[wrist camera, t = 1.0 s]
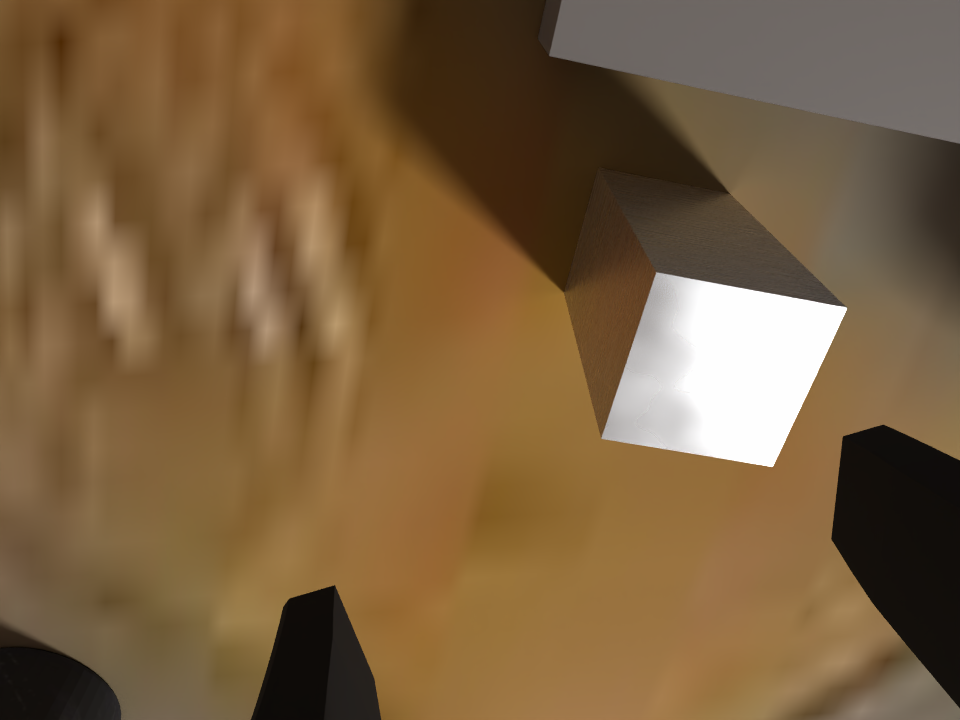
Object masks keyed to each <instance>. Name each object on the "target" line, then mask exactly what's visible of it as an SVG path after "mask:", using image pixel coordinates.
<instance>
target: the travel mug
mask: <svg viewBox="0 0 960 720" xmlns="http://www.w3.org/2000/svg"><path fill="white" fill-rule="evenodd" d="M0 720H121V710H120V705H119V702H118V699H117V698H116V696H115V694H114V692H113V691H112V690H111V688H110V687H109V686H108V685H107V684H106V683H105V682H104V681H103V680H102V679H101V678H100V677H99V676H98V675H96V674H95V673H94V672H92V671H91V670H89V669H88V668H86V667H85V666H83V665H81V664H79V663H77V662H75V661H73V660H71V659H68V658H66V657H64V656H61V655H58V654H55V653H51V652H47V651H43V650H37V649H31V648H1V649H0Z"/></svg>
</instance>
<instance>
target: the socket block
mask: <svg viewBox="0 0 960 720" xmlns="http://www.w3.org/2000/svg"><path fill="white" fill-rule="evenodd" d="M538 40H539V41H540V43H541V44H542V46H543V47H544V49H545V50H546V52H547V53H548V55H549V56H552V57H556V58H561V59H566V60H570V61H575V62H580V63H584V64H589V65H594V66H598V67H603V68H608V69H613V70H617V71H622V72H627V73H631V74H636V75H641V76H645V77H650V78H655V79H659V80H664V81H669V82H673V83H678V84H683V85H687V86H692V87H697V88H702V89H706V90H711V91H716V92H720V93H725V94H730V95H734V96H739V97H744V98H748V99H753V100H758V101H762V102H767V103H772V104H776V105H781V106H786V107H791V108H795V109H800V110H805V111H809V112H814V113H819V114H823V115H828V116H833V117H837V118H842V119H847V120H851V121H856V122H861V123H865V124H870V125H875V126H880V127H884V128H889V129H894V130H898V131H903V132H908V133H912V134H917V135H922V136H926V137H931V138H936V139H940V140H945V141H950V142H954V143H959V144H960V0H546V3H545V8H544V13H543V17H542V22H541V26H540V31H539V35H538Z"/></svg>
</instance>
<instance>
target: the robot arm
mask: <svg viewBox="0 0 960 720" xmlns="http://www.w3.org/2000/svg"><path fill="white" fill-rule="evenodd" d="M831 539H832V541H833V542H834V544H835V546H836V547H837V549H838V550H839V552H840V554H841V555H842V557H843V559H844V560H845V562H846V563H847V565H848V567H849V568H850V570H851V571H852V573H853V575H854V576H855V577H856V579H857V580H858V582H859V583H860V585H861V586H862V588H863V589H864V591H865V592H866V594H867V595H868V597H869V598H870V600H871V601H872V603H873V604H874V605H875V607H876V608H877V609H878V610H879V612H880V613H881V614H882V615H883V617H884V618H885V619H886V620H887V622H888V623H889V624H890V625H891V626H892V628H893V629H894V630H895V631H896V632H897V634H898V635H899V636H900V637H901V638H902V640H903V641H904V642H905V643H906V645H907V646H908V647H909V648H910V649H911V651H912V652H913V653H914V654H915V655H916V657H917V658H918V659H919V660H920V661H921V663H922V664H923V665H924V666H925V667H926V668H927V670H928V671H929V672H930V673H931V674H932V676H933V677H934V678H935V679H936V680H937V682H938V683H939V684H940V685H941V686H942V688H943V689H944V690H945V691H946V692H947V694H948V695H949V696H950V697H951V698H952V699H953V701H954V702H955V703H956V704H957V705H958V707H959V708H960V460H958V459H955V458H953V457H951V456H949V455H947V454H945V453H943V452H941V451H939V450H937V449H935V448H933V447H931V446H929V445H927V444H924V443H922V442H920V441H918V440H916V439H914V438H912V437H910V436H908V435H905V434H903V433H901V432H899V431H897V430H894V429H892V428H890V427H888V426H885V425H880V426H877V427H874V428H870V429H867V430H863V431H860V432H857V433H853V434H850V435H846V436H843V440H842V449H841V458H840V467H839V476H838V485H837V494H836V502H835V511H834V520H833V529H832V538H831ZM251 720H381V716H380V710H379V704H378V698H377V692H376V686H375V680H374V677H373V674H372V672H371V670H370V667H369V665H368V663H367V660H366V658H365V656H364V653H363V651H362V648H361V646H360V644H359V641H358V639H357V637H356V634H355V632H354V630H353V627H352V625H351V622H350V620H349V618H348V615H347V613H346V611H345V608H344V606H343V603H342V601H341V599H340V596H339V594H338V592H337V589H336V587H335V585H334V586H331V587H327V588H324V589H320V590H317V591H314V592H310V593H307V594H303V595H300V596H297V597H293V598H290V599H289V600H288V601H287V603H286V604H285V605H284V607H283V610H282V615H281V619H280V623H279V627H278V631H277V635H276V638H275V642H274V646H273V650H272V653H271V657H270V660H269V664H268V667H267V671H266V674H265V677H264V680H263V684H262V687H261V690H260V693H259V697H258V700H257V703H256V706H255V709H254V712H253V715H252V718H251Z"/></svg>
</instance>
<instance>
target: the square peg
mask: <svg viewBox="0 0 960 720" xmlns="http://www.w3.org/2000/svg"><path fill="white" fill-rule="evenodd" d="M564 295H565V299H566V303H567V307H568V311H569V315H570V319H571V322H572V326H573V330H574V334H575V338H576V342H577V346H578V350H579V354H580V358H581V361H582V365H583V369H584V373H585V377H586V381H587V385H588V389H589V393H590V397H591V400H592V404H593V408H594V412H595V416H596V420H597V424H598V428H599V432H600V436H601V439H607V440H613V441H619V442H625V443H631V444H637V445H643V446H649V447H656V448H662V449H668V450H674V451H680V452H686V453H692V454H698V455H704V456H711V457H717V458H723V459H729V460H735V461H741V462H747V463H753V464H759V465H766V466H772V467H773V465H774V462H775V460H776V458H777V456H778V454H779V452H780V450H781V448H782V445H783V443H784V441H785V439H786V437H787V435H788V433H789V431H790V428H791V426H792V424H793V422H794V420H795V418H796V416H797V414H798V411H799V409H800V407H801V405H802V403H803V401H804V399H805V397H806V394H807V392H808V390H809V388H810V386H811V384H812V382H813V380H814V377H815V375H816V373H817V371H818V369H819V367H820V365H821V363H822V360H823V358H824V356H825V354H826V352H827V350H828V348H829V346H830V343H831V341H832V339H833V337H834V335H835V333H836V331H837V329H838V326H839V324H840V322H841V320H842V318H843V316H844V314H845V312H846V309H847V307H846V306H845V305H843V304H842V303H841V302H840V301H839V300H838V299H837V298H836V297H835V296H834V295H833V294H832V293H831V292H830V291H829V290H828V289H827V288H826V287H825V286H824V285H823V284H822V283H821V282H820V281H819V280H818V279H817V278H816V277H815V276H814V275H813V274H812V273H811V272H810V271H809V270H808V269H807V268H806V267H805V266H804V265H803V264H802V263H800V262H799V261H798V260H797V259H796V258H795V257H794V256H793V255H792V254H791V253H790V252H789V251H788V250H787V249H786V248H785V247H784V246H783V245H782V244H781V243H780V242H779V241H778V240H777V239H776V238H775V237H774V236H773V235H772V234H771V233H770V232H769V231H768V230H767V229H766V228H765V227H764V226H763V225H762V224H761V223H760V222H758V221H757V220H756V219H755V218H754V217H753V216H752V215H751V214H750V213H749V212H748V211H747V210H746V209H745V208H744V207H743V206H742V205H741V204H740V203H739V202H738V201H737V200H736V199H735V198H734V197H733V196H732V195H731V194H729V193H724V192H719V191H714V190H709V189H704V188H699V187H694V186H689V185H684V184H679V183H674V182H669V181H664V180H659V179H654V178H649V177H644V176H639V175H634V174H629V173H624V172H619V171H614V170H609V169H604V168H599V167H598V170H597V173H596V177H595V181H594V184H593V188H592V192H591V195H590V199H589V203H588V206H587V210H586V214H585V217H584V221H583V225H582V228H581V232H580V236H579V239H578V243H577V247H576V250H575V254H574V258H573V261H572V265H571V269H570V272H569V276H568V280H567V283H566V287H565V291H564Z"/></svg>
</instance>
